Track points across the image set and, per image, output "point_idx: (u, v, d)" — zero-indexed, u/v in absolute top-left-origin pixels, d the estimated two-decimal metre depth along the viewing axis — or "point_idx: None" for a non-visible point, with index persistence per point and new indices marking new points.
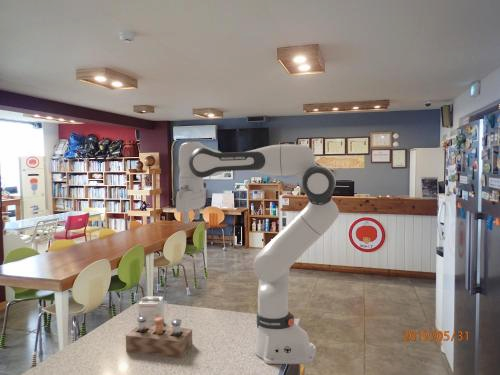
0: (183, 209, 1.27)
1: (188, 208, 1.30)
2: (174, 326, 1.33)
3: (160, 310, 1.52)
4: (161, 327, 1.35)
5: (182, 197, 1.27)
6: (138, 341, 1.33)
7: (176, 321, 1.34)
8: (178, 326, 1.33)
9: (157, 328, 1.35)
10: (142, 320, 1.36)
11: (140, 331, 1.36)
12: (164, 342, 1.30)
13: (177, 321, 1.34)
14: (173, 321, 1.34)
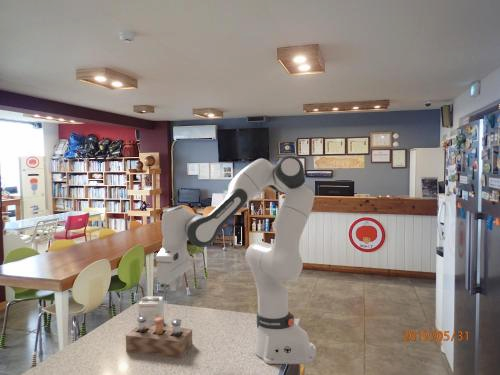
0: None
1: None
2: (174, 326, 1.33)
3: (160, 310, 1.52)
4: (161, 327, 1.35)
5: None
6: (138, 341, 1.33)
7: (176, 321, 1.34)
8: (178, 326, 1.33)
9: (157, 328, 1.35)
10: (142, 320, 1.36)
11: (140, 331, 1.36)
12: (164, 342, 1.30)
13: (177, 321, 1.34)
14: (173, 321, 1.34)
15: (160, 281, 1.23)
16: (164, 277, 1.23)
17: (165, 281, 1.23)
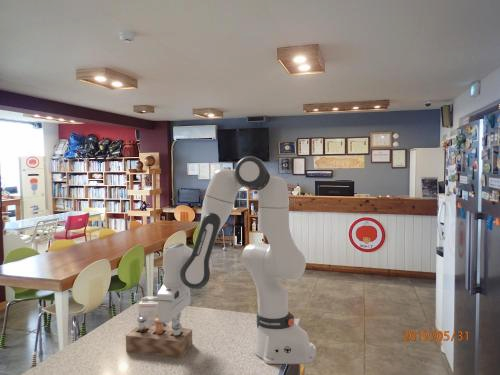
0: None
1: None
2: (174, 330, 1.33)
3: None
4: (161, 327, 1.35)
5: None
6: (138, 341, 1.33)
7: None
8: (178, 330, 1.33)
9: (157, 328, 1.35)
10: (142, 320, 1.36)
11: (140, 331, 1.36)
12: (164, 342, 1.30)
13: (177, 325, 1.34)
14: None
15: (160, 320, 1.24)
16: (164, 316, 1.24)
17: (166, 320, 1.24)
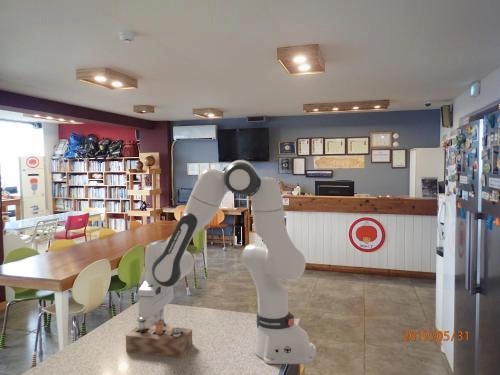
0: None
1: None
2: (174, 335, 1.33)
3: None
4: (161, 328, 1.35)
5: None
6: (138, 341, 1.33)
7: (176, 330, 1.34)
8: (178, 335, 1.33)
9: (157, 329, 1.35)
10: (142, 320, 1.36)
11: (140, 331, 1.36)
12: (164, 342, 1.30)
13: (177, 330, 1.34)
14: (173, 330, 1.34)
15: (142, 315, 1.25)
16: (146, 312, 1.25)
17: (147, 315, 1.25)
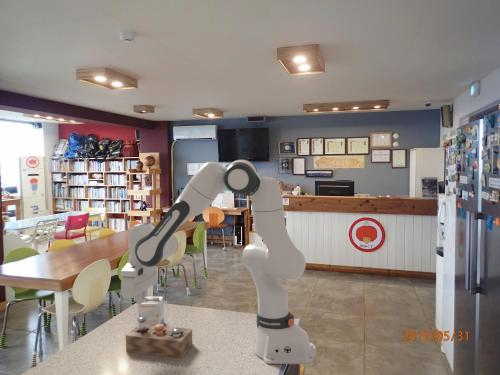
0: None
1: None
2: (174, 335, 1.33)
3: (160, 310, 1.52)
4: (161, 334, 1.35)
5: None
6: (138, 341, 1.33)
7: (176, 330, 1.34)
8: (178, 335, 1.33)
9: None
10: (142, 320, 1.36)
11: (140, 331, 1.36)
12: (164, 342, 1.30)
13: (177, 330, 1.34)
14: (173, 330, 1.34)
15: (124, 296, 1.26)
16: (127, 292, 1.26)
17: (128, 296, 1.26)
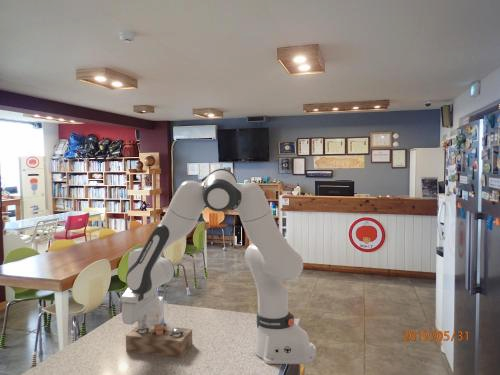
0: None
1: None
2: (174, 335, 1.33)
3: (160, 310, 1.52)
4: (161, 334, 1.35)
5: None
6: (138, 341, 1.33)
7: (176, 330, 1.34)
8: (178, 335, 1.33)
9: None
10: (142, 328, 1.36)
11: None
12: (164, 342, 1.30)
13: (177, 330, 1.34)
14: (173, 330, 1.34)
15: (125, 322, 1.28)
16: (128, 318, 1.27)
17: (129, 322, 1.27)
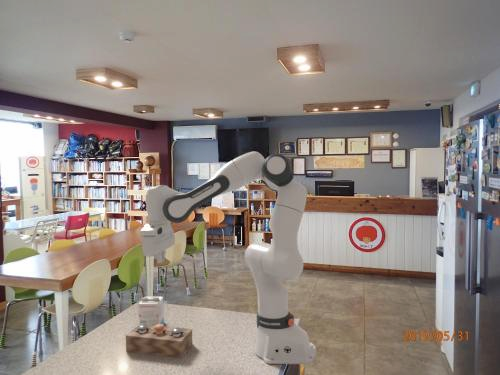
0: None
1: None
2: (174, 335, 1.33)
3: (160, 310, 1.52)
4: (161, 334, 1.35)
5: None
6: (138, 341, 1.33)
7: (176, 330, 1.34)
8: (178, 335, 1.33)
9: None
10: (142, 328, 1.36)
11: None
12: (164, 342, 1.30)
13: (177, 330, 1.34)
14: (173, 330, 1.34)
15: (145, 254, 1.32)
16: (148, 250, 1.32)
17: (150, 253, 1.32)
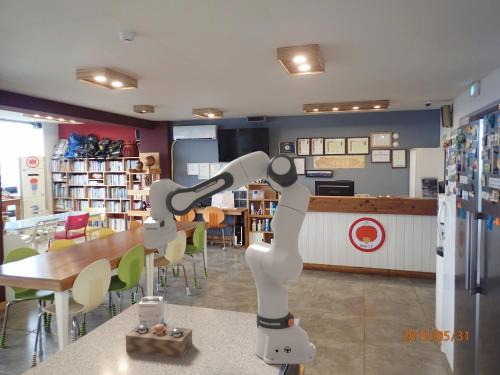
0: None
1: None
2: (174, 335, 1.33)
3: (160, 310, 1.52)
4: (161, 334, 1.35)
5: None
6: (138, 341, 1.33)
7: (176, 330, 1.34)
8: (178, 335, 1.33)
9: None
10: (142, 328, 1.36)
11: None
12: (164, 342, 1.30)
13: (177, 330, 1.34)
14: (173, 330, 1.34)
15: (147, 246, 1.33)
16: (150, 242, 1.32)
17: (152, 246, 1.32)
